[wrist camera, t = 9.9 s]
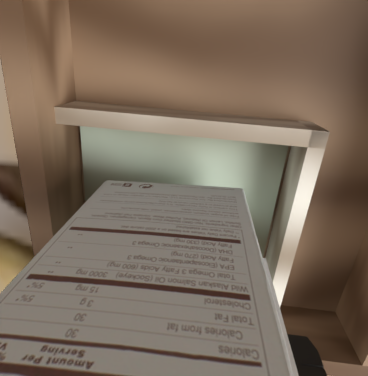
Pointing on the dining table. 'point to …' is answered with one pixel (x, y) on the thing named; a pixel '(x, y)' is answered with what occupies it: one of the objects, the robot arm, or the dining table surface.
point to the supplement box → (146, 290)
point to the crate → (209, 130)
